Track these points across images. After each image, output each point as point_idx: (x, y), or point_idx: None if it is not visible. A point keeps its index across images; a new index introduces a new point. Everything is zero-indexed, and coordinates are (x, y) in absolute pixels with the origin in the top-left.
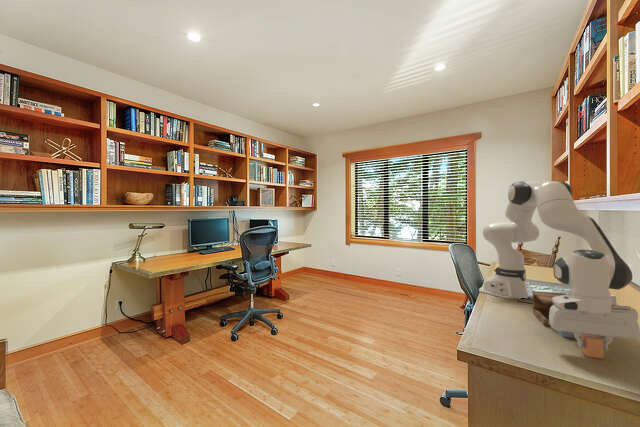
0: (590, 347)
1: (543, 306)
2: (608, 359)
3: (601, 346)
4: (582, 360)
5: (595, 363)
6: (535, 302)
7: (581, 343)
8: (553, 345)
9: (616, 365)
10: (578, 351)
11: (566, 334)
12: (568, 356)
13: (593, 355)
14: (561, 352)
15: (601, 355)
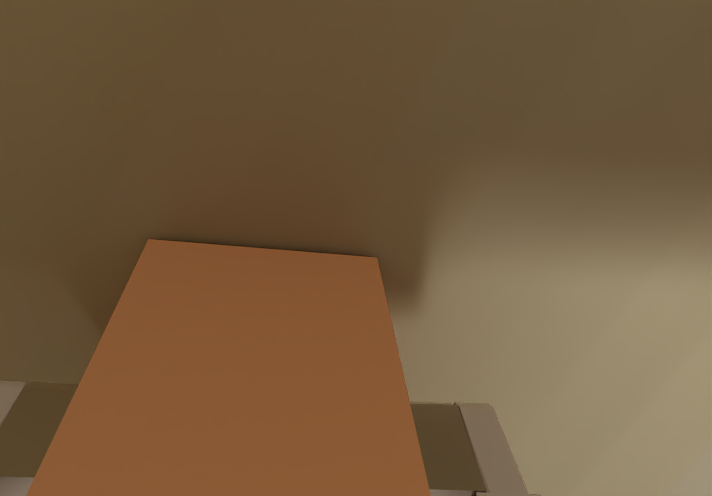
0: (343, 370)
1: None
2: (70, 247)
3: (110, 397)
4: (562, 92)
5: (395, 17)
6: None
7: (487, 457)
8: (646, 491)
9: (29, 27)
10: None
11: None
12: (699, 194)
13: (295, 269)
14: (703, 310)
15: (165, 273)
